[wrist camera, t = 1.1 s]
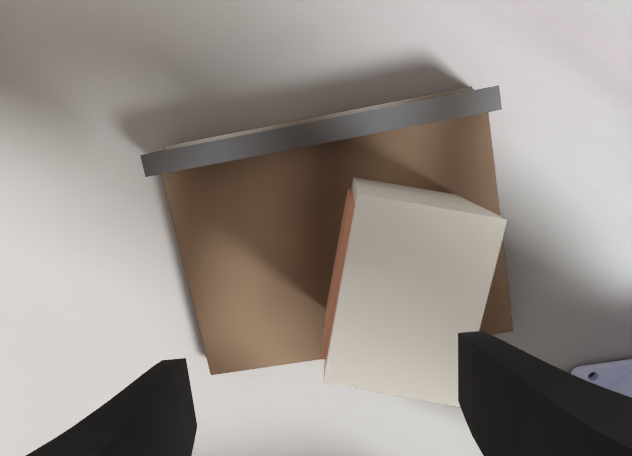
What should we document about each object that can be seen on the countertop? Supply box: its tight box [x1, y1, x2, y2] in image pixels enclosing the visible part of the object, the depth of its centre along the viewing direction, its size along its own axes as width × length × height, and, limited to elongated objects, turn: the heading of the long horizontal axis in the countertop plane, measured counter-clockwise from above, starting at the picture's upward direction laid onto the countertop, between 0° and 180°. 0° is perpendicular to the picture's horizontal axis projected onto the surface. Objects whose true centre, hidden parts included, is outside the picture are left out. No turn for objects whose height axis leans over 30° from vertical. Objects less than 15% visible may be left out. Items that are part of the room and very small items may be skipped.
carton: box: [321, 177, 507, 407], centre depth 19 cm, size 5×7×7 cm
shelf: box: [140, 86, 513, 375], centre depth 22 cm, size 16×12×3 cm
